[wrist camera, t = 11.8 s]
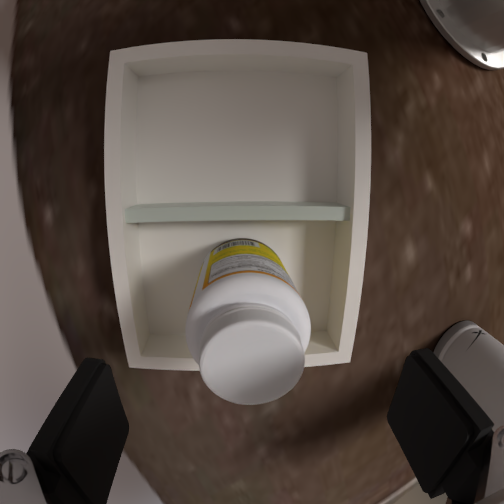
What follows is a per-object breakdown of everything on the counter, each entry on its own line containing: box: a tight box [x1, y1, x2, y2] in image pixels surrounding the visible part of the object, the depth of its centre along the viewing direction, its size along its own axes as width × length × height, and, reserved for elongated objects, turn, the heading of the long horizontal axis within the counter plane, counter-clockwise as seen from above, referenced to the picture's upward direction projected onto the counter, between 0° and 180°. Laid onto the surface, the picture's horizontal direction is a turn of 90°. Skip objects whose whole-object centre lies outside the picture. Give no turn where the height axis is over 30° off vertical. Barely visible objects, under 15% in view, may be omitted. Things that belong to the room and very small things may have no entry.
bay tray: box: [104, 39, 371, 371], centre depth 18 cm, size 20×15×4 cm
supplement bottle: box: [185, 238, 311, 405], centre depth 16 cm, size 6×6×10 cm
